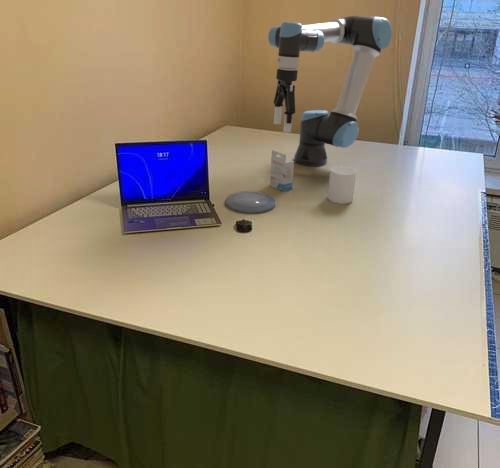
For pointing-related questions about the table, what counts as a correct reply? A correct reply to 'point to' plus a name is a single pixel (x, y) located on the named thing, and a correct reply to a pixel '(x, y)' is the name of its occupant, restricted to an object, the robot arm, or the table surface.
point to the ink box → (281, 171)
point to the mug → (341, 184)
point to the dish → (250, 202)
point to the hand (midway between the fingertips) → (281, 127)
